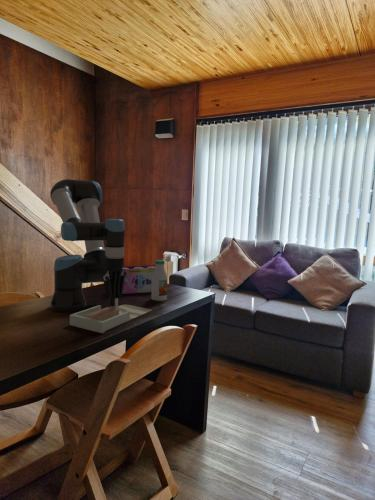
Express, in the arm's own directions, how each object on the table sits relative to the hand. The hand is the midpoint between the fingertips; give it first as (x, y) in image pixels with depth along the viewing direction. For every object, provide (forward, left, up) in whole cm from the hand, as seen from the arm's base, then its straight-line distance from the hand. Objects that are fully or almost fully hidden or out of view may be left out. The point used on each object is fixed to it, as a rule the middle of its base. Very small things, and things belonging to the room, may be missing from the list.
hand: (114, 313), depth 143 cm
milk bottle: (+17, +30, -2) cm, 35 cm away
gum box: (+4, +46, -2) cm, 47 cm away
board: (+4, +7, -2) cm, 9 cm away
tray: (-4, -7, -2) cm, 8 cm away
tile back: (-2, -3, -2) cm, 4 cm away
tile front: (-5, -8, -2) cm, 10 cm away
